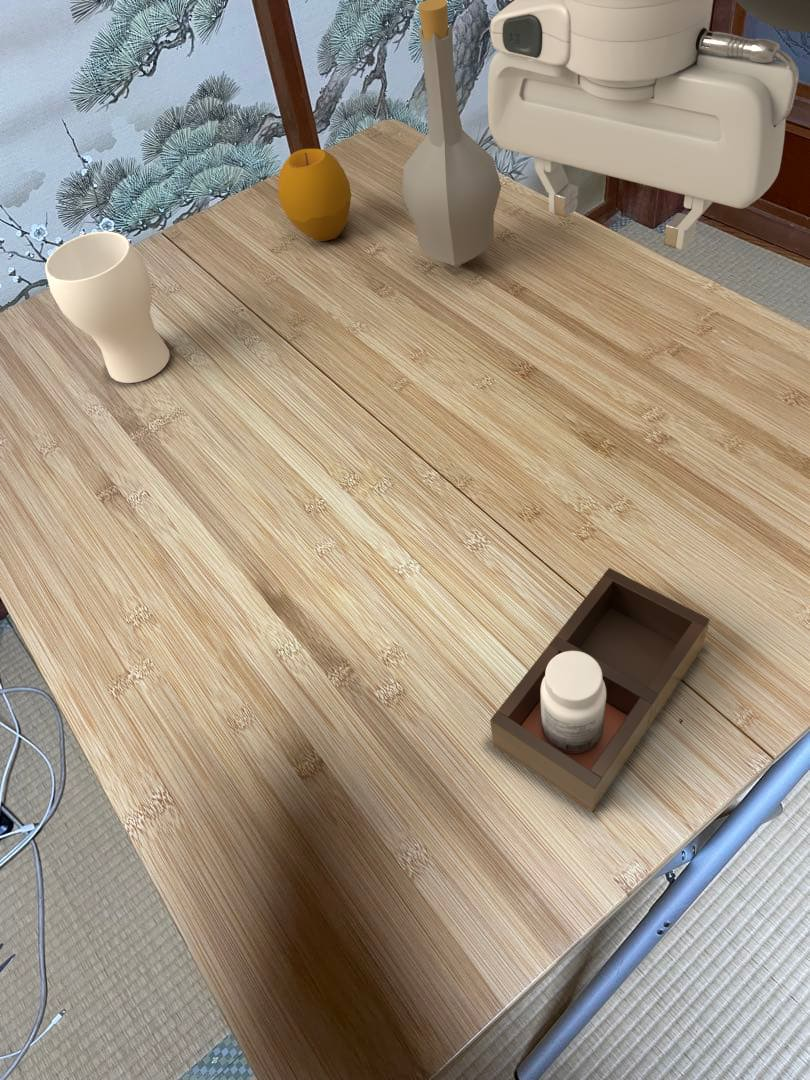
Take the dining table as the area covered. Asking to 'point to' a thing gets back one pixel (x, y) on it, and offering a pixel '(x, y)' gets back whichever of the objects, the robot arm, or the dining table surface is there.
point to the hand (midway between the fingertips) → (618, 227)
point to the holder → (628, 673)
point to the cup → (109, 302)
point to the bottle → (448, 160)
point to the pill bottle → (573, 702)
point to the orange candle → (315, 193)
